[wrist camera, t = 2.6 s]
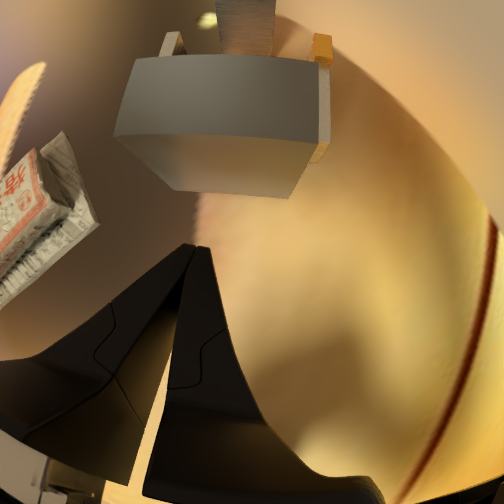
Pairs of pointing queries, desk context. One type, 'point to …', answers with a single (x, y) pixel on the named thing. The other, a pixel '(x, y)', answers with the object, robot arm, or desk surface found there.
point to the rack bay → (264, 49)
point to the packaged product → (41, 214)
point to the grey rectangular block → (222, 121)
